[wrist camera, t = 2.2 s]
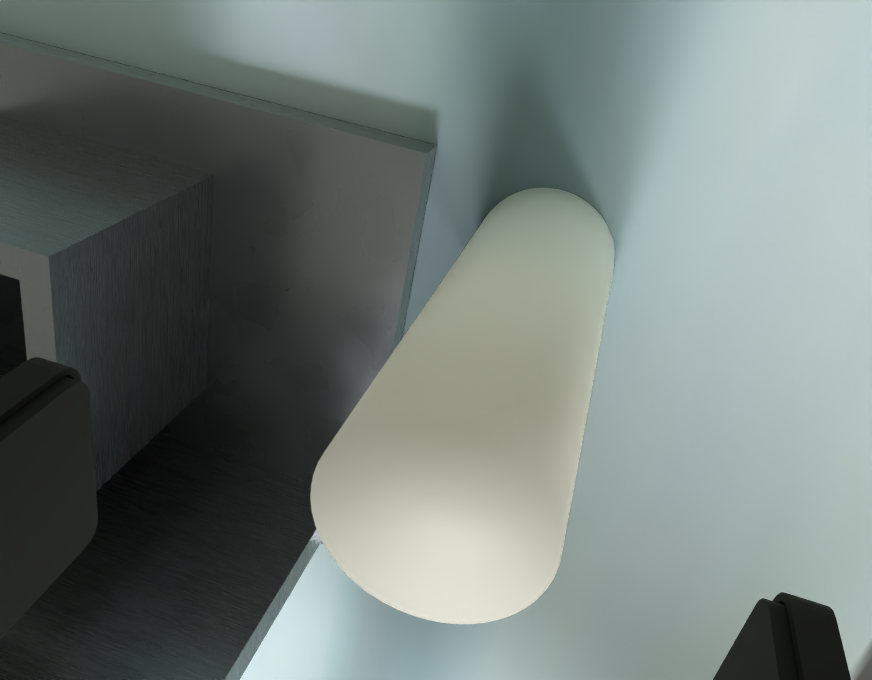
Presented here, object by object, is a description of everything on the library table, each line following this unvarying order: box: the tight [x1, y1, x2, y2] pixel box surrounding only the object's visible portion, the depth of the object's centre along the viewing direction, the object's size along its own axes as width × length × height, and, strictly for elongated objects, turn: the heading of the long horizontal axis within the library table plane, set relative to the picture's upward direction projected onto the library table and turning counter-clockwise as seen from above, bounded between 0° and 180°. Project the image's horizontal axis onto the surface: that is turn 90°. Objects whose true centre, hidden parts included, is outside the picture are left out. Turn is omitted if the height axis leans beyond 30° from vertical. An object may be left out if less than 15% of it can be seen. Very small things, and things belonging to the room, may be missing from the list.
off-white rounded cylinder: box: [310, 188, 615, 624], centre depth 17 cm, size 4×4×12 cm
